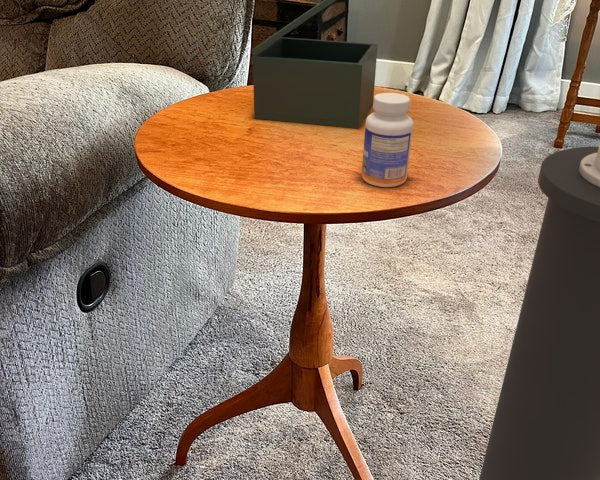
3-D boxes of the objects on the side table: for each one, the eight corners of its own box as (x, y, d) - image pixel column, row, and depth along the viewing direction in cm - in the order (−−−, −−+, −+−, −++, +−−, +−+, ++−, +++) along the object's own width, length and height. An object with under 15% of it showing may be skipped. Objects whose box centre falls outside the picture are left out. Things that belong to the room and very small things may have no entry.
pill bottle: (366, 168, 80) (372, 88, 74) (410, 173, 78) (419, 93, 73) (356, 184, 75) (362, 101, 70) (402, 191, 74) (411, 106, 69)
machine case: (373, 101, 103) (377, 43, 98) (358, 128, 92) (362, 64, 87) (279, 93, 106) (279, 36, 101) (254, 118, 95) (252, 56, 90)
